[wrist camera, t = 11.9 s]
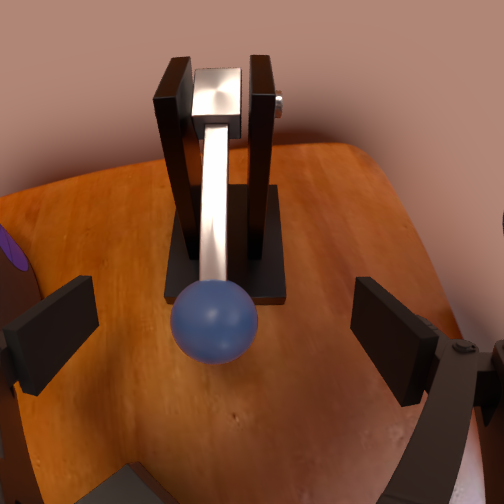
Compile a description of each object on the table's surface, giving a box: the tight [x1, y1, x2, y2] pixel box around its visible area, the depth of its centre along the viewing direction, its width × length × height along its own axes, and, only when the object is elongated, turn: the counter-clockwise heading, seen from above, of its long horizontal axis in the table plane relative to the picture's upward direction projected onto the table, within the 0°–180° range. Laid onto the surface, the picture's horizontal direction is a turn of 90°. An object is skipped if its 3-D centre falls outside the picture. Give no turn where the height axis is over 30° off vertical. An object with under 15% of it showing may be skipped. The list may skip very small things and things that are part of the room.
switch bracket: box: [153, 55, 286, 305], centre depth 19 cm, size 10×8×14 cm
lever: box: [170, 68, 258, 365], centre depth 14 cm, size 13×4×4 cm, turn 1°
